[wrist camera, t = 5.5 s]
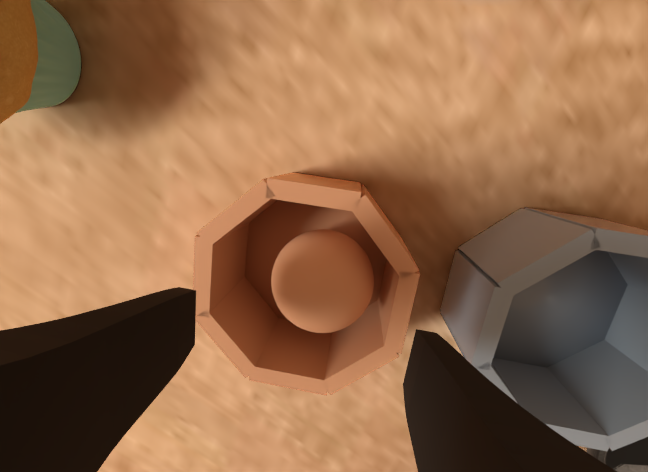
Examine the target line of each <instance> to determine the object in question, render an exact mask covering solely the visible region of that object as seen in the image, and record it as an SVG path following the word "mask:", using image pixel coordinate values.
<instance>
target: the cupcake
mask: <svg viewBox="0 0 648 472" xmlns="http://www.w3.org/2000/svg"><path fill="white" fill-rule="evenodd" d="M80 73H81V55H80V49H79V46H78V42H77V39H76V37H75V35H74V33H73V31H72V29H71V27H70V26H69V24H68V23H67V21H66V20H65V19H64V17H63V16H62V15H61V14H60V13H59V12H58V11H57V10H56V9H55V8H54V7H52V6H51V5H50V4H49V3H48V2H46V1H45V0H0V124H1V123H2V122H3V121H5V120H6V119H7V118H9V117H10V116H12V115H13V114H14V113H17V112H21V111H26V110H32V109H38V108H45V107H52V106H55V105H58V104H60V103H62V102H64V101H65V100H66V99H68V98H69V97H70V96H71V94H72V93H73V92H74V90H75V88H76V86H77V84H78V81H79V78H80Z"/></svg>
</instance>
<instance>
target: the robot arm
mask: <svg viewBox="0 0 648 472" xmlns="http://www.w3.org/2000/svg"><path fill="white" fill-rule="evenodd" d="M195 316H196V290H191V289H185V288H180V287H178V288H172V289H168V290H164V291H160V292H156V293H153V294H149V295H146V296H142V297H139V298H136V299H132V300H129V301H125V302H122V303H119V304H115V305H112V306H108V307H104V308H101V309H97V310H93V311H89V312H86V313H82V314H78V315H74V316H71V317H66V318H62V319H58V320H53V321H49V322H44V323H39V324H34V325H29V326H24V327H19V328H14V329H8V330H1V331H0V472H97V471H98V470H99V468H100V467H101V465H102V464H103V463H104V461H105V460H106V458H107V457H108V455H109V454H110V453H111V451H112V450H113V449H114V447H115V446H116V445H117V444H118V442H119V441H120V440H121V439H122V437H123V436H124V435H125V434H126V432H127V431H128V430H129V429H130V428H131V426H132V425H133V424H134V423H135V422H136V421H137V419H138V418H139V417H140V416H141V415H142V413H143V412H144V411H145V410H146V409H147V408H148V406H149V405H150V404H151V403H152V402H153V400H154V399H155V398H156V397H157V396H158V395H159V393H160V392H161V391H162V390H163V389H164V387H165V386H166V385H167V384H168V383H169V381H170V380H171V379H172V378H173V376H174V375H175V374H176V373H177V372H178V370H179V369H180V367H181V366H182V364H183V363H184V361H185V359H186V358H187V356H188V355H189V353H190V351H191V350H192V348H193V346H194V345H195ZM403 389H404V401H405V410H406V418H407V423H408V428H409V432H410V437H411V441H412V446H413V450H414V455H415V459H416V464H417V468H418V472H617V471H615V470H614V469H612V468H611V467H609V466H607V465H606V464H604V463H603V462H601V461H599V460H598V459H596V458H595V457H593V456H592V455H590V454H588V453H587V452H585V451H584V450H582V449H581V448H579V447H578V446H576V445H575V444H573V443H572V442H570V441H569V440H567V439H566V438H564V437H563V436H561V435H560V434H558V433H557V432H556V431H554V430H553V429H551V428H550V427H549V426H547V425H546V424H544V423H543V422H542V421H540V420H539V419H538V418H536V417H535V416H533V415H532V414H531V413H529V412H528V411H527V410H525V409H524V408H523V407H521V406H520V405H519V404H518V403H516V402H515V401H514V400H513V399H511V398H510V397H509V396H508V395H507V394H505V393H504V392H503V391H502V390H500V389H499V388H498V387H497V386H496V385H494V384H493V383H492V382H491V381H490V380H489V379H487V378H486V377H485V376H484V375H483V374H482V373H481V372H480V371H478V370H477V369H476V368H475V367H474V366H473V365H472V364H471V363H470V362H468V361H467V360H466V359H465V358H464V357H463V356H462V355H461V354H460V353H459V352H458V351H456V350H455V349H454V348H453V347H452V346H451V345H450V344H449V343H448V342H447V341H445V340H444V339H443V338H442V337H441V336H440V335H438V334H437V333H434V332H428V331H423V330H417V329H416V333H415V337H414V341H413V345H412V349H411V354H410V358H409V362H408V366H407V370H406V374H405V379H404V383H403Z"/></svg>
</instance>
